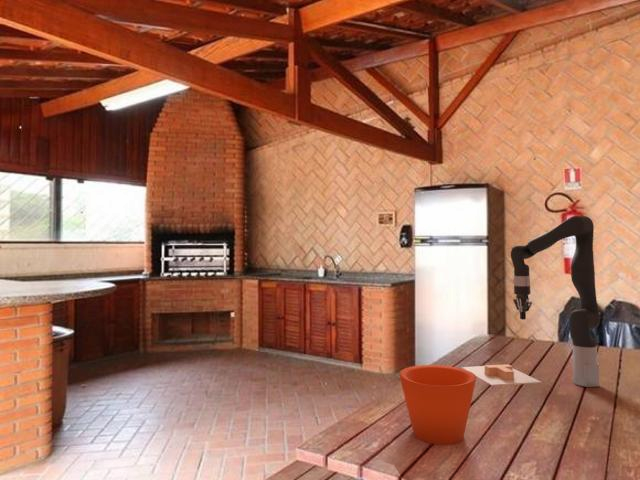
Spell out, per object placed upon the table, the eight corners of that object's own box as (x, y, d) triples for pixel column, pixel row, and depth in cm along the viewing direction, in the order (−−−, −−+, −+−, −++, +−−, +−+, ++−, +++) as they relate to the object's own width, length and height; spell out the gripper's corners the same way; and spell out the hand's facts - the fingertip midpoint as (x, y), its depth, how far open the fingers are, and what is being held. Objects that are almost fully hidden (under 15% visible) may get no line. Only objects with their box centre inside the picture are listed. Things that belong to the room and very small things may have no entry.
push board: (541, 383, 204) (541, 381, 204) (491, 386, 201) (491, 384, 201) (505, 365, 233) (505, 364, 234) (461, 368, 230) (461, 367, 230)
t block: (522, 379, 207) (521, 370, 207) (497, 381, 206) (497, 372, 206) (508, 372, 219) (507, 364, 219) (484, 373, 218) (484, 365, 218)
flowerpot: (421, 414, 168) (420, 361, 168) (489, 431, 152) (487, 372, 152) (386, 437, 149) (385, 377, 149) (459, 459, 133) (458, 391, 133)
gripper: (536, 285, 222) (537, 321, 222) (521, 283, 235) (522, 317, 235) (522, 286, 221) (523, 321, 221) (507, 284, 234) (508, 317, 234)
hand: (522, 319), depth 228 cm, fingers closed
